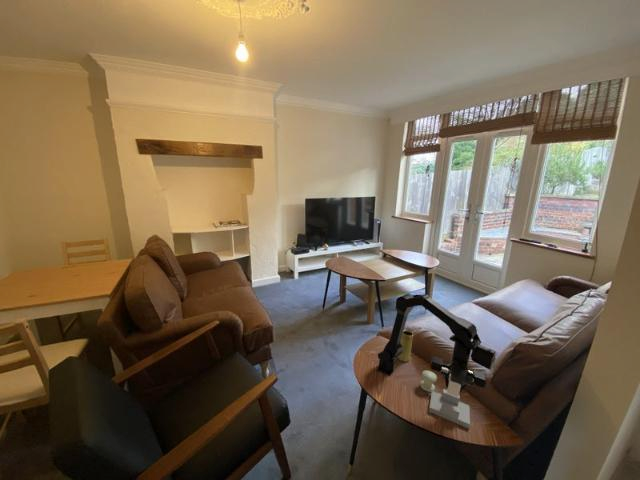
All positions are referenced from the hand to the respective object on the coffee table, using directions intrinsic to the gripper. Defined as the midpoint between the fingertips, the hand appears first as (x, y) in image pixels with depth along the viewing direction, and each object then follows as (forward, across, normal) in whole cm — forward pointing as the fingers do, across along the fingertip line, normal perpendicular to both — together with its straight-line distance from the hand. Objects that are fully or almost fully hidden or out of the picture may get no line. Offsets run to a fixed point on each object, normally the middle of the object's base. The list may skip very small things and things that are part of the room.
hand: (453, 389), depth 103 cm
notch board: (+10, 0, 0) cm, 10 cm away
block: (+1, 0, 0) cm, 1 cm away
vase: (+10, -22, +24) cm, 34 cm away
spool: (+10, -9, +9) cm, 16 cm away
